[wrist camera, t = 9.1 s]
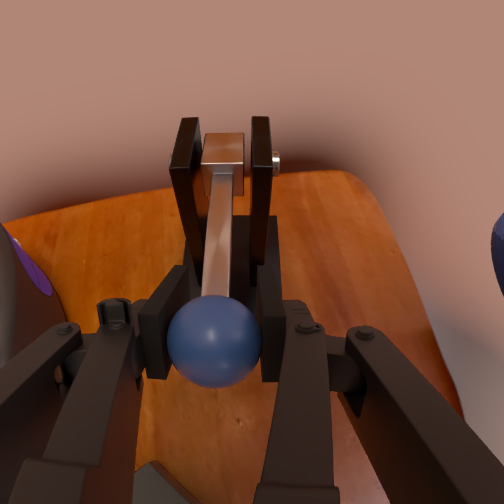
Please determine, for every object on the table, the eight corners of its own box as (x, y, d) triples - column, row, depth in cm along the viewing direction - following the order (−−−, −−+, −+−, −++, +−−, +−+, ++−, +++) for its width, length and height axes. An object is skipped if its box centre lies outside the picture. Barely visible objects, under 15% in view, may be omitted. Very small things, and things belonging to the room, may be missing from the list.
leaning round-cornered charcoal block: (99, 374, 22) (35, 336, 14) (59, 401, 21) (-15, 374, 13) (39, 243, 29) (-5, 183, 21) (8, 266, 27) (-41, 211, 19)
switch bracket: (281, 325, 25) (312, 213, 13) (180, 325, 25) (126, 214, 13) (275, 223, 30) (290, 93, 19) (190, 223, 30) (165, 95, 19)
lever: (261, 395, 12) (266, 377, 9) (174, 393, 12) (151, 374, 9) (255, 171, 20) (257, 123, 17) (198, 171, 20) (191, 124, 17)
